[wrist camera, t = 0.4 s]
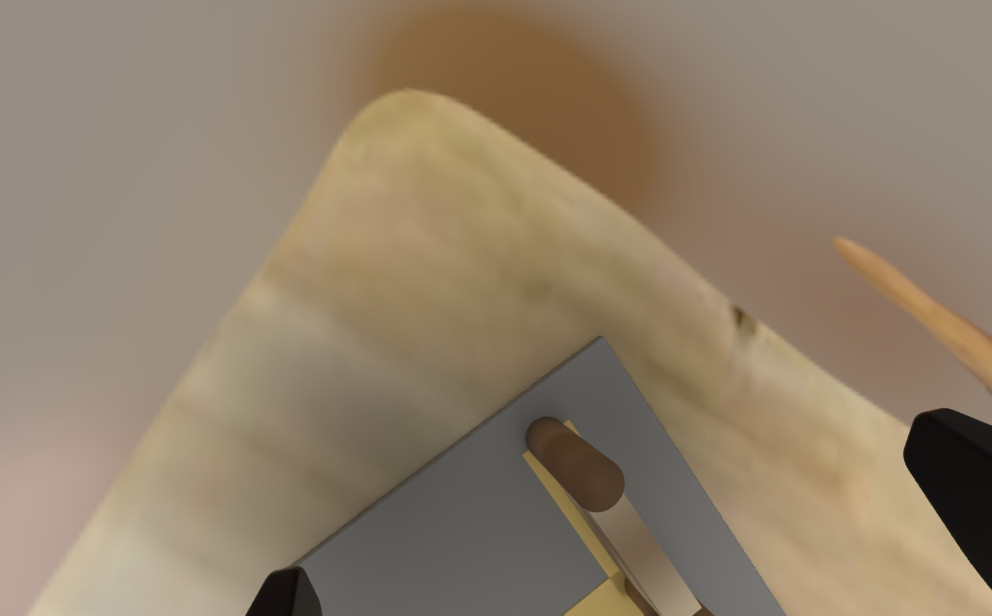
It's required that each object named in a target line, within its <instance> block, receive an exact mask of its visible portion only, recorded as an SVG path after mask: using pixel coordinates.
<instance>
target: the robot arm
mask: <svg viewBox="0 0 992 616" xmlns="http://www.w3.org/2000/svg"><path fill="white" fill-rule="evenodd" d="M903 457H904V462H905V464H906V466H907V468H908V470H909V472H910V473H911V475H912V476H913V478H914V479H915V481H916V482H917V484H918V485H919V487H920V488H921V490H922V491H923V493H924V494H925V496H926V497H927V499H928V500H929V502H930V503H931V505H932V506H933V508H934V509H935V511H936V512H937V514H938V516H939V517H940V519H941V520H942V522H943V523H944V525H945V526H946V528H947V529H948V531H949V532H950V534H951V535H952V537H953V538H954V540H955V541H956V543H957V544H958V546H959V547H960V549H961V550H962V552H963V553H964V554H965V556H966V557H967V559H968V560H969V562H970V563H971V564H972V565H973V567H974V568H975V569H976V571H977V572H978V573H979V575H980V576H981V577H982V579H983V580H984V581H985V582H986V584H987V585H988V586H989V587H990V589H991V590H992V425H989V424H987V423H984V422H982V421H979V420H977V419H974V418H972V417H969V416H967V415H964V414H962V413H960V412H957V411H954V410H951V409H948V408H939V409H935V410H931V411H927V412H923V413H920V414H918V415H917V416H916V417H915V419H914V421H913V423H912V426H911V429H910V432H909V435H908V438H907V441H906V444H905V447H904V451H903ZM245 616H322V609H321V604H320V601H319V598H318V596H317V594H316V592H315V590H314V588H313V586H312V584H311V582H310V580H309V578H308V576H307V574H306V572H305V570H304V569H303V568H302V567H301V566H292V567H288V568H284V569H280V570H276V571H274V572H272V573H271V574H269V575H268V577H267V578H266V580H265V581H264V583H263V585H262V587H261V589H260V590H259V592H258V594H257V596H256V597H255V599H254V601H253V603H252V605H251V606H250V608H249V610H248V612H247V613H246V615H245Z"/></svg>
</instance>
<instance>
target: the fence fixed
mask: <svg viewBox="0 0 992 616" xmlns="http://www.w3.org/2000/svg"><path fill="white" fill-rule="evenodd" d="M525 441H526V446H527V448H528V450H529V451H530V452H531V453H532V455H533V456H534V457H535V458H536V459H537V460H538V461H539V462H540V463H541V464H542V465H543V466H544V467H545V468H546V470H547V471H548V472H549V473H550V474H551V475H552V476H553V477H554V478H555V479H556V480H557V482H558V483H559V484H560V486H561V487H562V489H563V490H564V491H565V493H566V494H567V496H568V497H569V499H570V500H571V501H572V503H573V504H574V506H575V507H576V509H577V510H578V511H579V513H580V514H581V516H582V517H583V519H584V520H585V521H586V523H587V524H588V526H589V527H590V528H591V530H592V531H593V533H594V534H595V536H596V537H597V538H598V540H599V541H600V543H601V544H602V546H603V547H604V548H605V550H606V551H607V553H608V554H609V556H610V557H611V558H612V560H613V561H614V563H615V564H616V565H617V567H618V568H619V569H620V571H621V572H622V573H623V574H624V575H625V576H626V577H625V590H626V592H627V594H628V596H629V597H630V598H631V600H632V601H633V602H634V603H635V604H636V606H637V607H638V608H639V609H640V610H641V612H642V613H643V614H644V615H645V616H714V615H713V614H712V613H711V612H710V611H709V610H708V609H707V608H706V607H705V606H704V605H703V604H702V603H701V602H700V601H699V600H698V599H697V598H696V597H695V596H694V595H693V594H692V592H691V591H690V589H689V588H688V587H687V585H686V584H685V582H684V581H683V579H682V578H681V576H680V575H679V573H678V572H677V570H676V569H675V568H674V566H673V565H672V563H671V562H670V560H669V559H668V557H667V556H666V554H665V553H664V551H663V550H662V548H661V547H660V546H659V544H658V543H657V541H656V540H655V538H654V537H653V535H652V534H651V532H650V531H649V529H648V528H647V527H646V525H645V524H644V522H643V521H642V519H641V518H640V516H639V515H638V513H637V512H636V510H635V509H634V507H633V506H632V505H631V503H630V502H629V500H628V499H627V497H626V496H625V494H624V493H623V492H624V487H625V479H624V475H623V472H622V470H621V469H620V467H619V466H618V465H617V464H616V463H614V462H613V461H612V460H610V459H609V458H608V457H606V456H605V455H604V454H603V453H601V452H600V451H599V450H597V449H596V448H595V447H593V446H592V445H591V444H589V443H588V442H587V441H585V440H584V439H583V438H581V437H580V436H579V435H577V434H576V433H575V432H573V431H572V430H571V429H569V428H568V427H567V426H565V425H564V424H563V423H561V422H560V421H559V420H557V419H556V418H553V417H541V418H538V419H536V420H535V421H534V422H532V423H531V425H530V426H529V427H528V429H527V432H526V437H525Z"/></svg>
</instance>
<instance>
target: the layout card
mask: <svg viewBox="0 0 992 616" xmlns="http://www.w3.org/2000/svg"><path fill="white" fill-rule="evenodd" d="M541 417H553V418H556V419H557V420H559V421H560V422H561V423H563V424H564V425H565V426H567V427H568V428H569V429H571V430H572V431H573V432H575V433H576V434H577V435H579V436H580V437H581V438H583V439H584V440H585V441H587V442H588V443H589V444H591V445H592V446H593V447H595V448H596V449H597V450H599V451H600V452H601V453H603V454H604V455H605V456H606V457H608V458H609V459H610V460H612V461H613V462H614V463H616V464H617V465H618V466H619V467H620V469H621V470H622V472H623V475H624V479H625V487H624V492H623V493H624V494H625V496H626V497H627V499H628V500H629V502H630V503H631V505H632V506H633V507H634V509H635V510H636V512H637V513H638V515H639V516H640V518H641V519H642V521H643V522H644V524H645V525H646V527H647V528H648V529H649V531H650V532H651V534H652V535H653V537H654V538H655V540H656V541H657V543H658V544H659V546H660V547H661V548H662V550H663V551H664V553H665V554H666V556H667V557H668V559H669V560H670V562H671V563H672V565H673V566H674V568H675V569H676V570H677V572H678V573H679V575H680V576H681V578H682V579H683V581H684V582H685V584H686V585H687V587H688V588H689V589H690V591H691V592H692V594H693V595H694V596H695V597H696V598H697V599H698V600H699V601H700V602H701V603H702V604H703V605H704V606H705V607H706V608H707V609H708V610H709V611H710V612H711V613H712V614H713V615H714V616H786V614H785V613H784V611H783V610H782V608H781V607H780V605H779V604H778V602H777V601H776V599H775V598H774V596H773V595H772V593H771V592H770V590H769V588H768V587H767V585H766V584H765V582H764V581H763V579H762V578H761V576H760V575H759V573H758V572H757V570H756V569H755V567H754V566H753V564H752V563H751V561H750V559H749V558H748V556H747V555H746V553H745V552H744V550H743V549H742V547H741V546H740V544H739V543H738V541H737V540H736V538H735V537H734V535H733V533H732V532H731V530H730V529H729V527H728V526H727V524H726V523H725V521H724V520H723V518H722V517H721V515H720V514H719V512H718V511H717V509H716V507H715V506H714V504H713V503H712V501H711V500H710V498H709V497H708V495H707V494H706V492H705V491H704V489H703V488H702V486H701V485H700V483H699V481H698V480H697V478H696V477H695V475H694V474H693V472H692V471H691V469H690V468H689V466H688V465H687V463H686V462H685V460H684V459H683V457H682V456H681V454H680V452H679V451H678V449H677V448H676V446H675V445H674V443H673V442H672V440H671V439H670V437H669V436H668V434H667V433H666V431H665V430H664V428H663V426H662V425H661V423H660V422H659V420H658V419H657V417H656V416H655V414H654V413H653V411H652V410H651V408H650V407H649V405H648V404H647V402H646V400H645V399H644V397H643V396H642V394H641V393H640V391H639V390H638V388H637V387H636V385H635V384H634V382H633V381H632V379H631V378H630V376H629V374H628V373H627V371H626V370H625V368H624V367H623V365H622V364H621V362H620V361H619V359H618V358H617V356H616V355H615V353H614V352H613V350H612V349H611V347H610V345H609V344H608V342H607V341H606V339H605V338H604V337H603V336H599V337H597V338H596V339H595V340H593V341H592V342H591V343H589V344H588V345H587V346H585V347H584V348H583V349H581V350H580V351H579V352H577V353H576V354H575V355H573V356H572V357H571V358H569V359H568V360H567V361H565V362H564V363H563V364H561V365H560V366H559V367H557V368H556V369H555V370H553V371H552V372H551V373H549V374H548V375H547V376H545V377H544V378H543V379H541V380H540V381H539V382H537V383H536V384H535V385H533V386H532V387H531V388H529V389H528V390H527V391H525V392H524V393H523V394H521V395H520V396H518V397H517V398H516V399H514V400H513V401H512V402H510V403H509V404H508V405H506V406H505V407H504V408H502V409H501V410H500V411H498V412H497V413H496V414H494V415H493V416H492V417H490V418H489V419H488V420H486V421H485V422H484V423H482V424H481V425H480V426H478V427H477V428H476V429H474V430H473V431H472V432H470V433H469V434H468V435H466V436H465V437H464V438H462V439H461V440H460V441H458V442H457V443H456V444H454V445H453V446H452V447H450V448H449V449H448V450H446V451H445V452H444V453H442V454H441V455H440V456H438V457H437V458H436V459H434V460H433V461H431V462H430V463H429V464H427V465H426V466H425V467H423V468H422V469H421V470H419V471H418V472H417V473H415V474H414V475H413V476H411V477H410V478H409V479H407V480H406V481H405V482H403V483H402V484H401V485H399V486H398V487H397V488H395V489H394V490H393V491H391V492H390V493H389V494H387V495H386V496H385V497H383V498H382V499H381V500H379V501H378V502H377V503H375V504H374V505H373V506H371V507H370V508H369V509H367V510H366V511H365V512H363V513H362V514H361V515H359V516H358V517H357V518H355V519H354V520H353V521H351V522H350V523H348V524H347V525H346V526H344V527H343V528H342V529H340V530H339V531H338V532H336V533H335V534H334V535H332V536H331V537H330V538H328V539H327V540H326V541H324V542H323V543H322V544H320V545H319V546H318V547H316V548H315V549H314V550H312V551H311V552H310V553H308V554H307V555H306V556H304V557H303V558H302V559H300V560H299V561H298V562H296V563H295V564H294V565H292V566H301V567H302V568H303V569H304V570H305V572H306V574H307V576H308V578H309V580H310V582H311V584H312V586H313V588H314V590H315V592H316V594H317V596H318V598H319V601H320V604H321V609H322V616H645V615H644V614H643V613H642V612H641V610H640V609H639V608H638V607H637V606H636V604H635V603H634V602H633V601H632V600H631V598H630V597H629V596H628V594H627V592H626V590H625V577H626V576H625V575H624V574H623V573H622V572H621V571H620V569H619V568H618V567H617V565H616V564H615V563H614V561H613V560H612V558H611V557H610V556H609V554H608V553H607V551H606V550H605V548H604V547H603V546H602V544H601V543H600V541H599V540H598V538H597V537H596V536H595V534H594V533H593V531H592V530H591V528H590V527H589V526H588V524H587V523H586V521H585V520H584V519H583V517H582V516H581V514H580V513H579V511H578V510H577V509H576V507H575V506H574V504H573V503H572V501H571V500H570V499H569V497H568V496H567V494H566V493H565V491H564V490H563V489H562V487H561V486H560V484H559V483H558V482H557V480H556V479H555V478H554V477H553V476H552V475H551V474H550V473H549V472H548V471H547V470H546V468H545V467H544V466H543V465H542V464H541V463H540V462H539V461H538V460H537V459H536V458H535V457H534V456H533V455H532V453H531V452H530V451H529V450H528V448H527V446H526V441H525V437H526V432H527V429H528V427H529V426H530V425H531V423H532V422H534V421H535V420H536V419H538V418H541ZM292 566H291V567H292Z"/></svg>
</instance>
